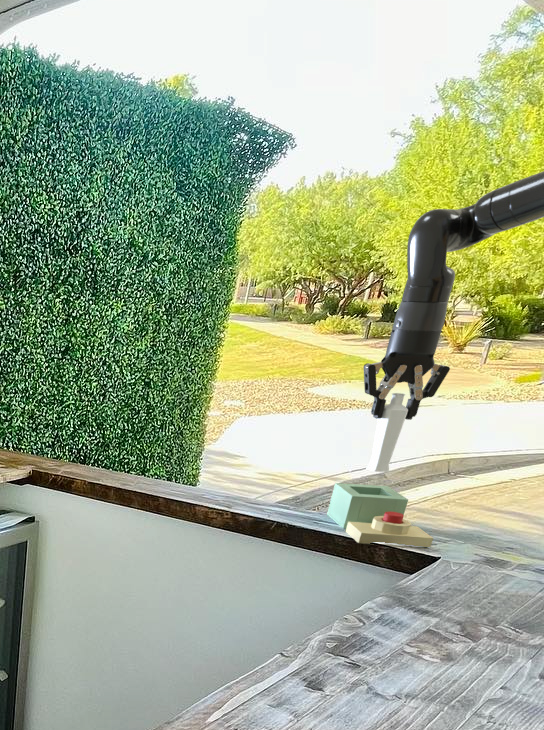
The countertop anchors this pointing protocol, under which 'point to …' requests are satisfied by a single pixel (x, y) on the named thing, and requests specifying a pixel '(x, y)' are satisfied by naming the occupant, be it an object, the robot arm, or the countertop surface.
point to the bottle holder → (363, 503)
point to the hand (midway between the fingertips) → (391, 418)
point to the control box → (388, 533)
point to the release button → (393, 517)
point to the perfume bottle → (387, 433)
